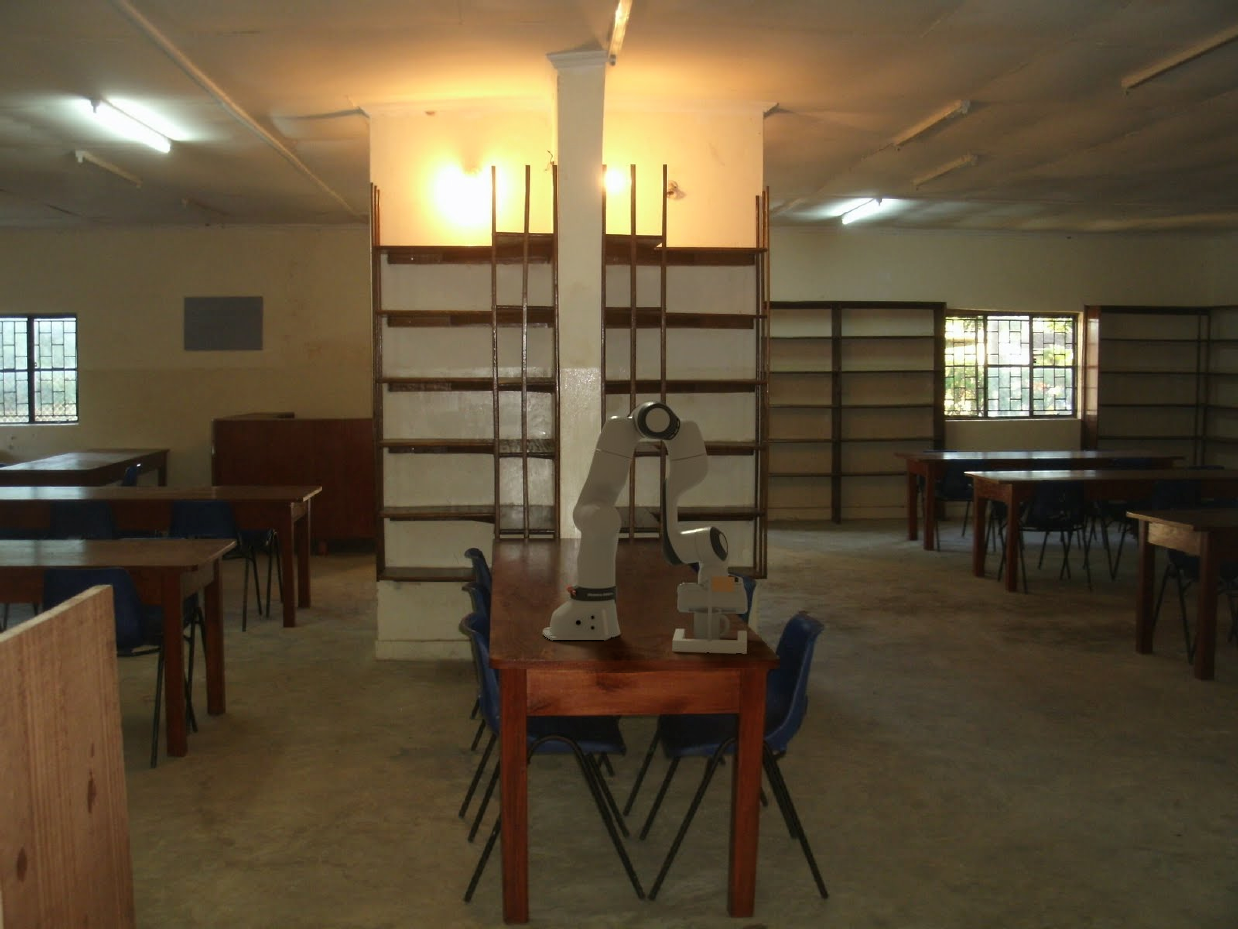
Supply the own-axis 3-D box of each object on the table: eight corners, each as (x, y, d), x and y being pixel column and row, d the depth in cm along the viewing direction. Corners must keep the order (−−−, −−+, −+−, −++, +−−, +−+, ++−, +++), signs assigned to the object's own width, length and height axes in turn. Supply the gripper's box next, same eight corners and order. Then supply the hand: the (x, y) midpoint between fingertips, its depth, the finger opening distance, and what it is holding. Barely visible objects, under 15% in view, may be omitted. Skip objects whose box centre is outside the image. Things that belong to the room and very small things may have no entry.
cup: (692, 639, 306) (693, 608, 306) (727, 639, 307) (728, 608, 306) (695, 645, 299) (695, 613, 299) (731, 645, 299) (731, 613, 299)
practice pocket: (675, 639, 306) (676, 565, 305) (746, 641, 304) (747, 567, 303) (672, 651, 292) (672, 574, 291) (746, 653, 290) (747, 576, 288)
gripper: (677, 576, 314) (674, 616, 305) (747, 578, 312) (747, 618, 303) (677, 588, 319) (675, 628, 310) (747, 590, 317) (747, 630, 308)
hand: (711, 624), depth 307 cm, fingers closed
